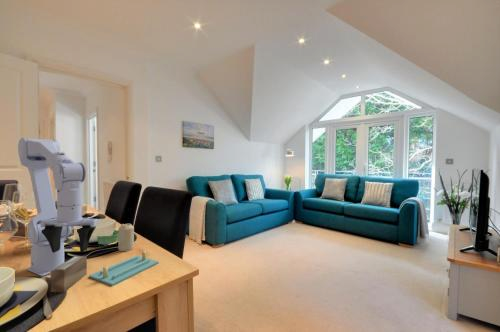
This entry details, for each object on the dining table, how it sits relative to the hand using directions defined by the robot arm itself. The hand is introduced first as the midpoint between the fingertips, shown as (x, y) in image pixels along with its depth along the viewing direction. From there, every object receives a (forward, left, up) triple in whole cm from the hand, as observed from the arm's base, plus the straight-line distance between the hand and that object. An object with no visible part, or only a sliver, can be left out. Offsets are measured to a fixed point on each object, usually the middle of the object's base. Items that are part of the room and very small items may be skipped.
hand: (69, 251), depth 70 cm
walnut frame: (0, 0, -10) cm, 10 cm away
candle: (-9, +25, -10) cm, 28 cm away
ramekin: (-21, +26, -10) cm, 35 cm away
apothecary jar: (-37, +16, -10) cm, 41 cm away
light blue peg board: (+7, +13, -9) cm, 18 cm away
